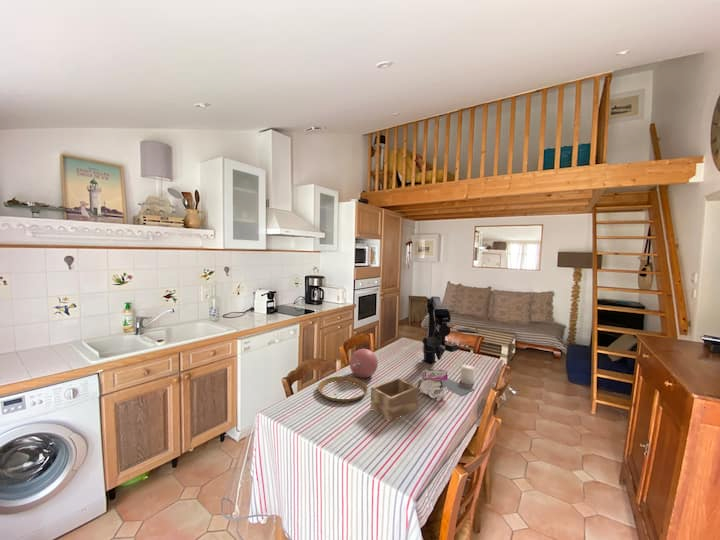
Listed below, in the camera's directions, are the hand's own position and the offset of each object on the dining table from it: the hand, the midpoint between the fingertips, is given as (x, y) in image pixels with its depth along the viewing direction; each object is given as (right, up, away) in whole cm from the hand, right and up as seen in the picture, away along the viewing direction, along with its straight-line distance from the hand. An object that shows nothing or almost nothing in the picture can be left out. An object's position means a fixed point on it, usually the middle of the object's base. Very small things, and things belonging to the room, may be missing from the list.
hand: (438, 359), depth 160 cm
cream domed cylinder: (+16, -13, +3) cm, 21 cm away
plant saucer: (-51, -13, -14) cm, 54 cm away
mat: (+5, -13, -5) cm, 15 cm away
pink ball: (-42, -11, +3) cm, 43 cm away
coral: (-13, -12, -17) cm, 24 cm away
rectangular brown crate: (-27, -14, -28) cm, 41 cm away
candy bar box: (-3, -10, +3) cm, 11 cm away
